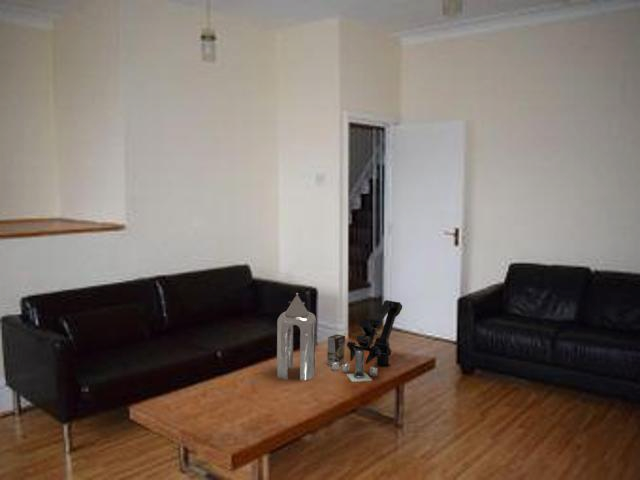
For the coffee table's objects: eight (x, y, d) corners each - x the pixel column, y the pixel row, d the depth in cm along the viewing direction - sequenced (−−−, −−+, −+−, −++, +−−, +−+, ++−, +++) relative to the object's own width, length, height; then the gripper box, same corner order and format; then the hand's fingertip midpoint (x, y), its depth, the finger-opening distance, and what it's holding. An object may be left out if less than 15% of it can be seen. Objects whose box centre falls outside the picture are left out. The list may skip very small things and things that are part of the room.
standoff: (360, 374, 315) (360, 348, 314) (366, 377, 310) (367, 351, 309) (351, 376, 312) (351, 349, 310) (357, 379, 307) (358, 352, 305)
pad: (365, 373, 317) (365, 372, 317) (372, 380, 307) (372, 379, 307) (346, 375, 315) (346, 374, 315) (352, 382, 304) (352, 381, 304)
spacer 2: (348, 369, 324) (348, 362, 323) (350, 372, 320) (350, 365, 320) (341, 370, 323) (341, 363, 323) (343, 372, 319) (343, 365, 319)
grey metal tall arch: (316, 368, 325) (317, 290, 320) (312, 381, 305) (313, 297, 300) (281, 366, 327) (281, 288, 322) (274, 379, 307) (275, 296, 302)
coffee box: (335, 366, 329) (336, 339, 327) (326, 364, 333) (327, 336, 331) (345, 362, 336) (345, 335, 335) (336, 360, 340) (336, 333, 338)
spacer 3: (374, 373, 318) (374, 366, 318) (378, 375, 315) (378, 368, 315) (368, 374, 317) (368, 367, 316) (372, 376, 313) (372, 369, 313)
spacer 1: (337, 368, 327) (338, 361, 326) (339, 370, 323) (339, 363, 322) (331, 368, 326) (331, 361, 325) (332, 370, 322) (332, 363, 321)
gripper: (348, 327, 316) (338, 351, 308) (379, 332, 306) (368, 357, 298) (355, 337, 324) (345, 362, 316) (385, 343, 314) (375, 368, 306)
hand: (358, 362), depth 309 cm, fingers open, 9 cm apart
